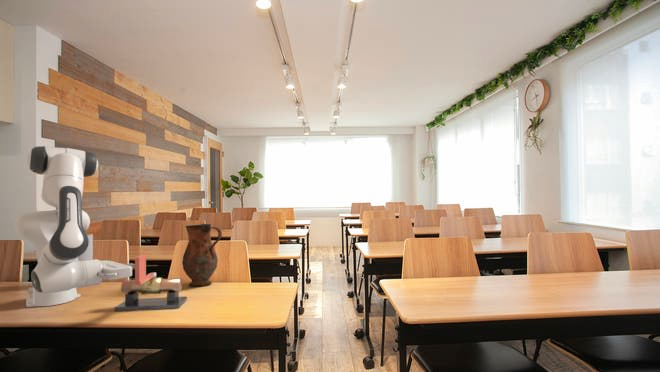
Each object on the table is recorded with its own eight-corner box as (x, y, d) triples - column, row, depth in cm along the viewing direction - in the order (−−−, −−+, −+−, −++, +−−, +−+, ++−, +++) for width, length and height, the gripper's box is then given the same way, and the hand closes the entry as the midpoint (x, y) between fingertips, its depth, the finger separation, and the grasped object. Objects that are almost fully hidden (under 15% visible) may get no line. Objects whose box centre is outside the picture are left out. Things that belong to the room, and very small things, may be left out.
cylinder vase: (91, 279, 193) (91, 233, 193) (94, 283, 183) (93, 234, 184) (62, 283, 185) (62, 234, 186) (63, 288, 175) (63, 237, 176)
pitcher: (197, 279, 189) (197, 222, 190) (231, 282, 182) (231, 223, 182) (174, 287, 174) (173, 225, 174) (209, 291, 166) (209, 226, 167)
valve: (114, 311, 139) (114, 282, 139) (127, 302, 150) (127, 275, 150) (178, 308, 141) (178, 280, 142) (186, 300, 152) (186, 273, 153)
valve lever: (150, 276, 147) (150, 250, 147) (157, 276, 147) (157, 250, 148) (133, 286, 131) (133, 257, 131) (141, 286, 132) (141, 257, 132)
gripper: (103, 267, 117) (147, 260, 128) (82, 260, 130) (123, 254, 141) (104, 286, 117) (147, 278, 128) (82, 277, 130) (123, 270, 140)
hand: (134, 265), depth 134 cm, fingers closed
